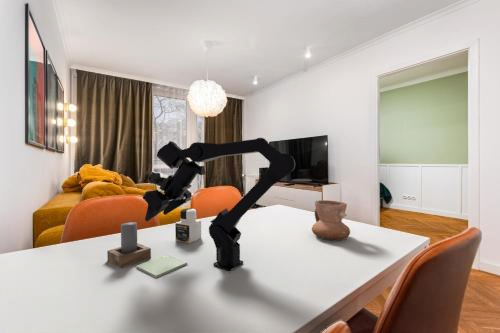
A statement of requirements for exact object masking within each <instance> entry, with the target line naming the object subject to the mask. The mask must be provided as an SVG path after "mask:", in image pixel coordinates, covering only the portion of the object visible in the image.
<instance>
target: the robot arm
mask: <svg viewBox="0 0 500 333" xmlns="http://www.w3.org/2000/svg"><path fill="white" fill-rule="evenodd" d="M255 153H258V154H261V155H262V156H263V157H264V158H265V159H266V160H267V161H269V162H270V165H269V166H268V168H267V170H266V172H265V173H264V174H263V176H262V177H261V178H260V179H259V180H258V181H257V182H256V183H255V184H254V185H253V187H251V189H250V190H248V192H247V193H246V194H245V195H243V197H242V198H240V200H239V201H238V202H237V203H236V204H235V205H234V206H233V207H232V208H231V209H230V210H228V208H224V209H222V210H221V211H219V212H218V214H217V215H216V217H215V218H213V219H212V220H210V225H209V227H208V233H209V236H210V237H211V238H212V240H213V243H214V245H215V246H214V247H215V248H216V250H215V251H216V255H215V256H216V257H215V258H216V260H215V262H213V264H212V265H213V266H214V267H217V268H220V269H224V270H226V271H229V272H230V271H232V270H234V269H236V268H237V267H240V266H241V265H242V264H244V261H243V260H241V243H239V242H238V241H239V240H240V239H241V236H242V232H241V231H240V230H239V229H238V228H237V226H238V224H239V222H240V221H241V219H242V217H243V216H244V215H245V214H246V213H248V212H249V210H250V209H251V208H252V207H253V206H254V205H255V204H256V203H257V202H258V201H260V199H261V198H262V197H263V196H264V195H265V194H266V193H267V192H268V191H269V190H270V189H271V188H272V187H273V185H275V184H277V183H278V182H280V181H281V180H282V179H284V178H285V177H287V176H288V175H290V174H291V173H292V172H293V171H294V170H295V168H296V161H295V159H294V157H293V156H292V155H290V154H288V153H282V152H281V151H279V150H278V149H277V148H276V147H274V146H273V145H272V144H270V143H269V142H268V140H267V139H265V138H264V137H258V138H253V139H245V140H237V141H231V142H222V143H210V142H201V141H200V142H198V141H195V142H193V143H191V144H190V145H189V146H188V147H187V148H184V149H182V148H181V147H179V146H178V144H177V143H176V142H174V141H171V140H170V141H168V143H166V144H165V145H163V146H162V147H159V149H158V150H157V153H156V158H158V160H160V161H161V162H162V163H163V164H165V166H167V167H168V168H169V169H172V170H173V169H176V171H175V172H174V174H171V175H168V174H166V173H164V172H159V171H158V172H157V171H152V172H150V174H149V175H147V178H148V183H149V184H153V185H155V186H158V187H159V190H161V191H162V192H163V193H162V192H161V191H159V190H158V189H154V190H153V189H152V190H147V191H145V193H144V194H143V196H142V199H143V200H144V201H145V202H146V203H147V208H146V214H145V217H144V221H146V222H150V221H151V220H152V219H154V218H155V217H157V216H158V215H159V214H161V213H162V214H163V216H166V215H168V214H169V213H171V212H173V211H174V210H176V209H178V208H179V207H181V206H183V205H184V204H186V203H187V202H190V200H191V199H192V197H193V196H192V192H191V191H189V189H190V188H191V187H192V185H191V184H192V182H193V181H194V180H195V178H197V175H199V176H205V175H206V174H207V171H206V167H205V165H199V164H198V163H208V162H210V161H215V160H217V159H220V158H223V157H228V156H229V157H230V156H238V155H248V154H255Z"/></svg>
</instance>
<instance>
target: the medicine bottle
mask: <svg viewBox="0 0 500 333" xmlns="http://www.w3.org/2000/svg"><path fill="white" fill-rule="evenodd" d="M179 218H180V221H176V222H175V227H174V228H175V229H174V230H175V241H176V242H181V243H186V244H191V243H193V242H196V241H198V240H200V239H202V220H201V219H200V220H199V219H197V210H196V209H195V208H192V207H191V208H190V207H189V208H183V209H181V210H180V216H179Z"/></svg>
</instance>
